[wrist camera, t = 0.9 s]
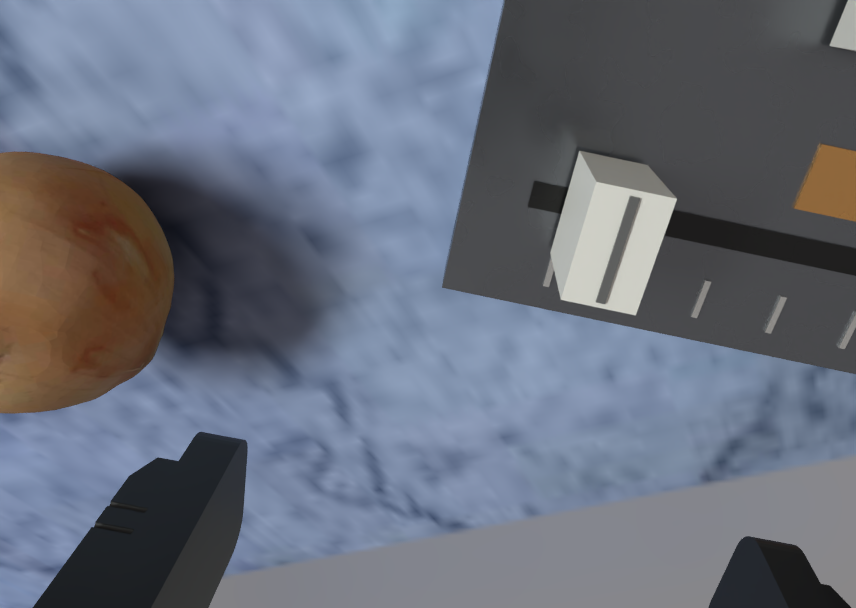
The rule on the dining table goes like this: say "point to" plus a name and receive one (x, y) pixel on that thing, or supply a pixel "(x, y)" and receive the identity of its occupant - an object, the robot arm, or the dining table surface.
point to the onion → (75, 282)
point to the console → (677, 164)
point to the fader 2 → (846, 28)
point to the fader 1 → (610, 232)
